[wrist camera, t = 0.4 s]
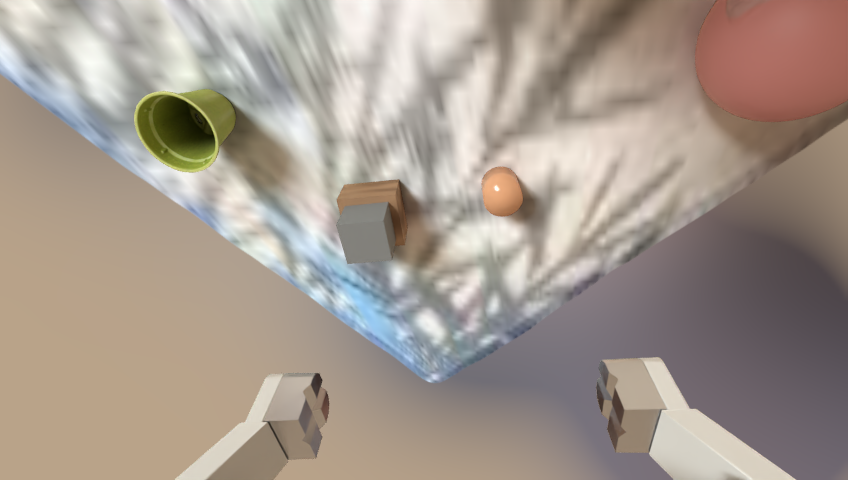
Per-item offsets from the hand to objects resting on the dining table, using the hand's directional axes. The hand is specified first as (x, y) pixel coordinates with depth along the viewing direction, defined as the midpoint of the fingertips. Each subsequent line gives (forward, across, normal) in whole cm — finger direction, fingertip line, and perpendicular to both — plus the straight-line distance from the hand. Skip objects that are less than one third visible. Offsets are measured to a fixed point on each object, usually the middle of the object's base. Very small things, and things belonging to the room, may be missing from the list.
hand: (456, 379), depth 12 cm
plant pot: (+46, +32, +1) cm, 55 cm away
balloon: (+45, -32, -3) cm, 55 cm away
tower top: (+41, +13, +17) cm, 46 cm away
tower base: (+46, +12, +17) cm, 50 cm away
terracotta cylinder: (+45, -6, +15) cm, 48 cm away
